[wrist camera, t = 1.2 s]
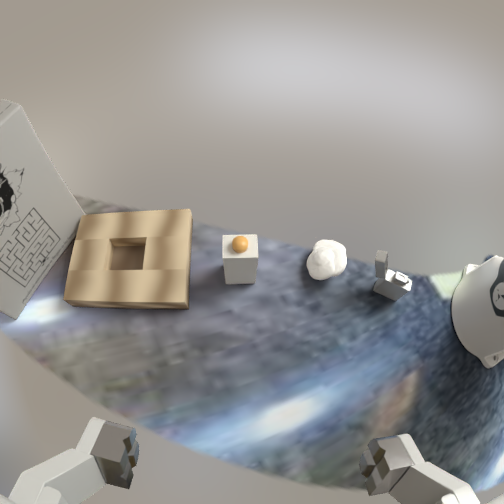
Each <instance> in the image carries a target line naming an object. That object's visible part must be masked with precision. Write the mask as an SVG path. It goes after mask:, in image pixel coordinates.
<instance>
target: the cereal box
mask: <svg viewBox="0 0 504 504" xmlns="http://www.w3.org/2000/svg"><path fill="white" fill-rule="evenodd" d="M82 215H86V214H85V212H84V211H83V209H82V208H81V207H80V205H79V204H78V202H77V200H76V199H75V197H74V196H73V194H72V193H71V191H70V190H69V188H68V187H67V185H66V184H65V182H64V180H63V179H62V177H61V175H60V174H59V172H58V170H57V169H56V167H55V166H54V164H53V162H52V160H51V159H50V157H49V155H48V154H47V152H46V150H45V149H44V147H43V145H42V143H41V141H40V139H39V138H38V136H37V134H36V132H35V131H34V128H33V127H32V125H31V123H30V121H29V119H28V117H27V115H26V113H25V111H24V109H23V107H22V105H20V104H17V103H15V102H11V101H9V100H6V99H2V100H1V101H0V312H2V313H4V314H6V315H8V316H9V317H11V318H13V319H15V320H16V319H17V318H18V317H19V315H20V314H21V312H22V310H23V309H24V307H25V306H26V304H27V303H28V301H29V299H30V298H31V296H32V295H33V293H34V292H35V291H36V289H37V288H38V286H39V285H40V283H41V282H42V280H43V279H44V278H45V276H46V275H47V273H48V272H49V271H50V269H51V268H52V266H53V265H54V264H55V262H56V261H57V260H58V258H59V257H60V256H61V254H62V253H63V252H64V251H65V249H66V248H67V247H68V245H69V244H70V243H71V242H72V240H73V239H74V238H75V237H76V235H77V231H78V227H79V223H80V220H81V216H82Z"/></svg>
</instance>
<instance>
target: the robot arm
mask: <svg viewBox="0 0 504 504" xmlns="http://www.w3.org/2000/svg"><path fill="white" fill-rule="evenodd" d="M452 319H453V324H454V327H455V330H456V333H457V335H458V338H459V339H460V341H461V343H462V344H463V346H464V347H465V348H466V349H467V350H468V351H469V352H471V353H472V354H474V355H475V356H477V357H478V358H479V359H480V360H481V362H482V363H483V365H484V366H485V367H486V368H488V369H489V368H491V367H493V366H495V365H496V364H497V363H498V362H500V361H501V360H502V359H504V258H503V257H498V256H494V257H492V258H490V259H489V260H487V261H486V262H484V263H483V264H481V265H480V266H478V265H473V264H468V265H467V266H465V268H464V271H463V277H462V280H461V282H460V283H459V284H458V286H457V287H456V289H455V292H454V295H453V299H452ZM493 358H494V359H493ZM135 438H136V430H135V428H131V427H128V426H124V425H120V424H117V423H112V422H110V421H106V420H103V419H99V418H96V417H92V418H91V419H90V421H89V423H88V424H87V426H86V428H85V430H84V432H83V434H82V436H81V438H80V440H79V442H78V444H77V446H76V448H75V449H72V448H70V449H68V450H67V451H65V452H63V453H61V454H59V455H57V456H55V457H53V458H51V459H49V460H47V461H45V462H43V463H40V464H38V465H36V466H35V467H32V468H30V469H28V470H26V471H23V472H22V473H21V475H20V477H19V479H18V481H17V482H16V484H15V486H14V488H13V490H12V492H11V494H10V496H9V498H6V497H5V496H3V495H1V494H0V504H81V503H82V502H83V501H85V500H86V499H88V498H89V497H90V496H91V495H93V494H94V493H96V492H97V491H98V490H100V489H101V488H102V487H103V486H105V485H106V483H107V484H110V485H114V486H118V487H122V488H126V489H129V488H130V485H131V482H132V478H133V472H132V468H133V467H135V466H136V464H137V460H138V455H139V445H138V442H137V441H136V440H135ZM368 447H369V449H368V450H366V451H365V452H363V454H362V456H361V457H360V463H359V466H360V471H361V474H362V475H363V476H365V477H366V478H367V479H366V481H365V485H366V488H367V491H368V494H369V496H372V495H377V494H382V493H387V492H389V494H390V495H391V496H393V497H394V498H395V499H396V500H397V501H398V502H400V503H401V504H480V502H479V500H478V499H477V497H476V495H475V493H474V492H473V490H472V488H471V486H470V485H469V484H468V483H466V482H464V481H462V480H460V479H458V478H456V477H455V476H453V475H451V474H449V473H447V472H446V471H444V470H442V469H440V468H439V467H437V466H435V465H433V464H432V463H430V462H425V461H424V459H423V457H422V455H421V454H420V452H419V450H418V448H417V446H416V445H415V443H414V441H413V439H412V438H411V436H410V435H409V434H402V435H397V436H389V437H383V438H377V439H373V440H371V441H370V442H369V444H368ZM486 504H504V493H502V494H501V495H499V496H498V497H496V498H494V499H493V500H491V501H489V502H487V503H486Z"/></svg>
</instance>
